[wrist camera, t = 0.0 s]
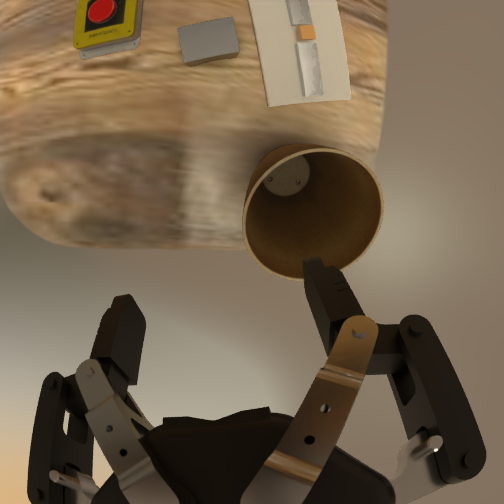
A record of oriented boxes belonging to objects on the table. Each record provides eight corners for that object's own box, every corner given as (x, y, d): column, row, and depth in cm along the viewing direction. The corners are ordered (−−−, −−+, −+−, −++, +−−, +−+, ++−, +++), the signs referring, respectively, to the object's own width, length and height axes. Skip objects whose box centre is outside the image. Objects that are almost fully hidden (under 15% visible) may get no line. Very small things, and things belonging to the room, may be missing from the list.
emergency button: (67, 60, 22) (78, -30, 14) (81, 61, 26) (89, -22, 17) (131, 45, 23) (142, -47, 15) (140, 48, 27) (149, -37, 18)
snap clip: (297, 26, 25) (299, 25, 24) (310, 26, 25) (313, 25, 24) (299, 40, 26) (302, 39, 25) (313, 39, 26) (316, 38, 25)
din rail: (281, -19, 22) (283, -23, 21) (299, -19, 22) (302, -23, 21) (302, 96, 32) (305, 96, 31) (319, 94, 32) (323, 95, 31)
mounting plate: (243, -20, 22) (243, -22, 21) (328, -21, 22) (330, -23, 21) (267, 106, 34) (269, 107, 33) (348, 99, 34) (351, 99, 33)
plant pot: (342, 136, 37) (403, 171, 24) (315, 221, 45) (352, 285, 32) (244, 112, 34) (261, 132, 21) (225, 208, 42) (230, 276, 29)
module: (184, 37, 27) (177, 28, 21) (230, 28, 27) (232, 16, 21) (190, 66, 29) (184, 62, 24) (236, 57, 29) (239, 51, 24)
